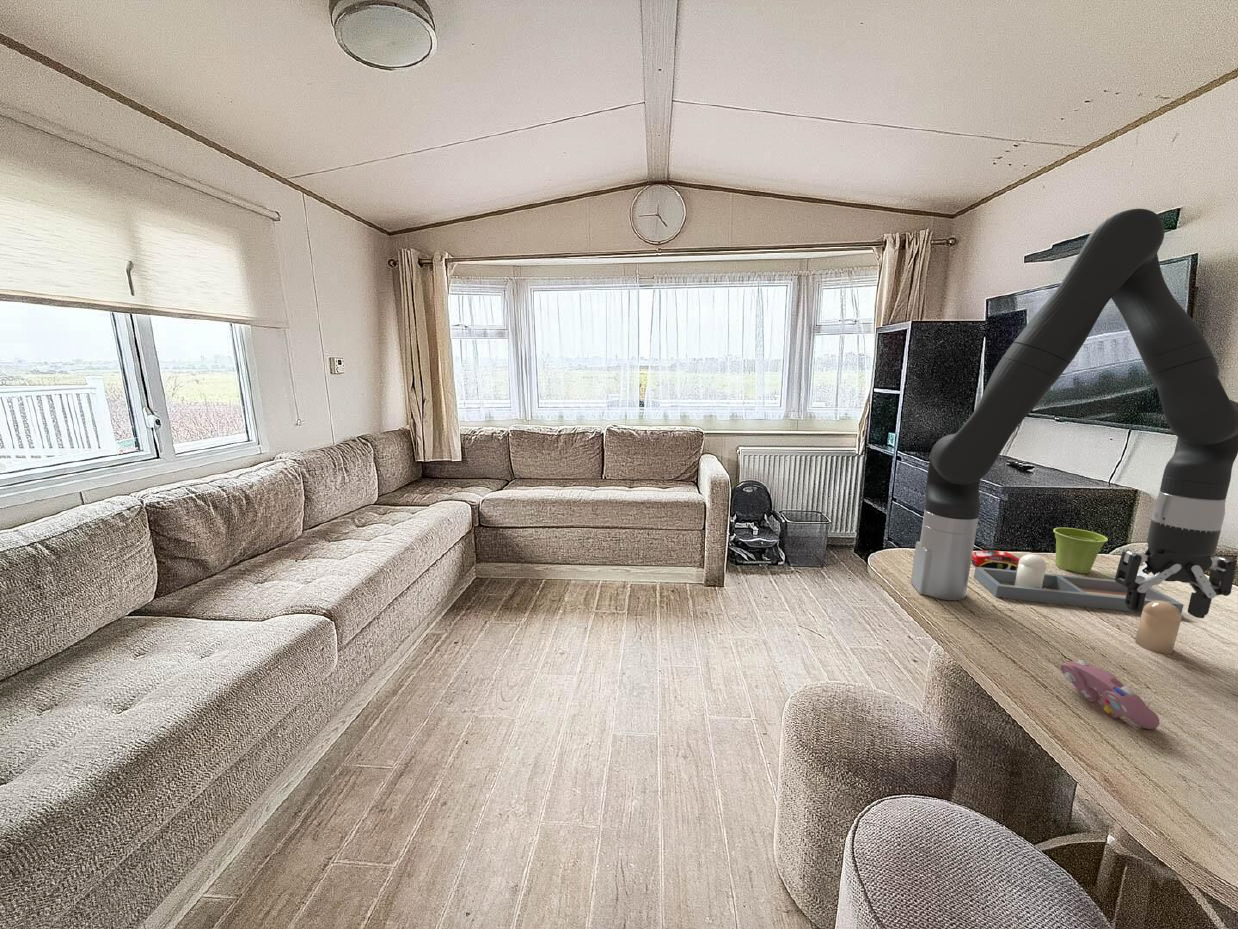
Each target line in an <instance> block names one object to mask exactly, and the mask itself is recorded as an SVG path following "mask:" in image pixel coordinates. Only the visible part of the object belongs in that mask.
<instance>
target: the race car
mask: <svg viewBox="0 0 1238 929" xmlns="http://www.w3.org/2000/svg"><path fill="white" fill-rule="evenodd" d="M1020 558H1021V557H1017V556H1015V555H1013V554H1011V553H1009V552H1006V551H1002V550H982V551H981V550H980V551H979V550H978V551H973V553H972V559H971V564H972V565H975V566H976V567H983V568H993V569H1004V570H1014V571H1017V569H1018V564H1019V560H1020Z"/></svg>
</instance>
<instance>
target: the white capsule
mask: <svg viewBox="0 0 1238 929" xmlns="http://www.w3.org/2000/svg"><path fill="white" fill-rule="evenodd" d="M1019 558H1020V560H1019V564H1018V569H1017V575H1016V580H1015V583H1014V584H1013V586H1022V587H1032V588H1042V589H1043V586H1042V585H1043V580H1044V575H1045V573H1046V569H1047V563H1046V561H1045V559H1043V558H1042V557H1041V556H1039V555H1037V554H1034V553H1032V554H1031V553H1030V554H1029V553H1028V554H1025V555H1023V556H1021V557H1019Z"/></svg>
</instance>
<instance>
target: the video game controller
mask: <svg viewBox="0 0 1238 929" xmlns="http://www.w3.org/2000/svg"><path fill="white" fill-rule="evenodd" d="M1059 667H1060V671H1061V673H1062V674H1063V677H1064V679H1065V680H1066V681H1068V682H1069V683H1071V684H1072V685H1073V687H1074V688H1075V689H1076V690H1077V691H1078V693H1079V695H1081V697H1082V698H1083V699H1085V700H1086V701H1088V702H1090V703H1094V702H1096V701H1098V700H1100V699H1101V696H1102V698H1103V699H1102V700H1100V701H1099V704H1100V707H1101V709H1102V710H1103V711H1104V712H1105V713H1106V714H1108V716H1110V717H1112V718H1114V719H1119V718H1121V717H1124V718H1127V719H1129V720H1130V721H1132V722H1133V723H1134V724H1135V725H1137V726H1138V727H1141V728H1142V729H1143V728H1144V729H1146V730H1155V729H1157V728H1158V726H1159V724H1160V718H1159V716H1158V714H1157V713H1156V712H1154V711H1153V709H1151V708H1150V707H1149V706H1148V705H1147V704H1146V703H1145V702H1144V701H1143V699H1142V698H1141V697H1140V696H1139V695H1138V694H1137V693H1135V691H1134V690H1133V689H1132V688H1130V687H1129V686H1127V685H1124V683H1122V681H1121V680H1119V679H1118V678H1117V676H1115V675H1113V674H1112V673H1111V672H1109V671H1108V670H1105V669H1104V668H1101V667H1098V666H1094V665H1090V664H1088V663H1087V662H1086V661H1085V660H1083V659H1079V660H1075V661H1074V660H1073V661H1067V662H1065V663H1063V664H1061V665H1060V666H1059Z"/></svg>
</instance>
